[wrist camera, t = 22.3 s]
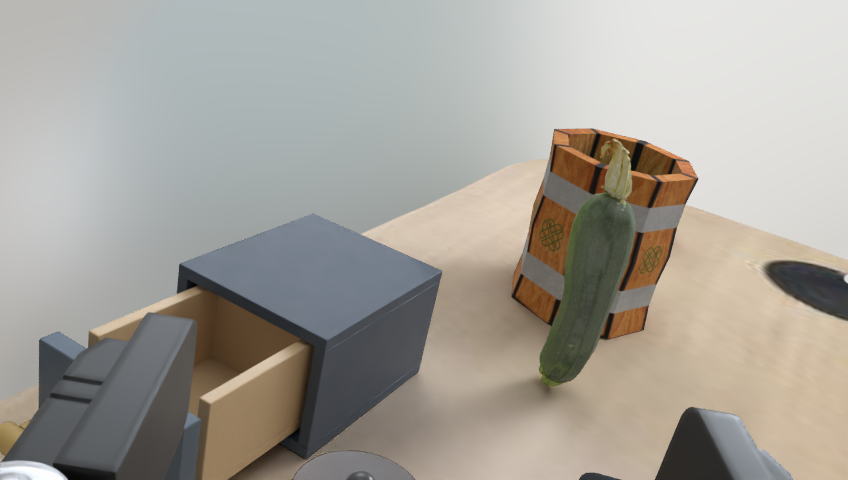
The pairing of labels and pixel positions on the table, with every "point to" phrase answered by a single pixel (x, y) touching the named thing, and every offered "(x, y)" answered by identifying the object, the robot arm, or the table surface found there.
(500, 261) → the table surface
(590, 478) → the game console
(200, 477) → the drawer
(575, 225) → the vegetable
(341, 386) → the cabinet
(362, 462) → the pepper mill
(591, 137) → the mug
